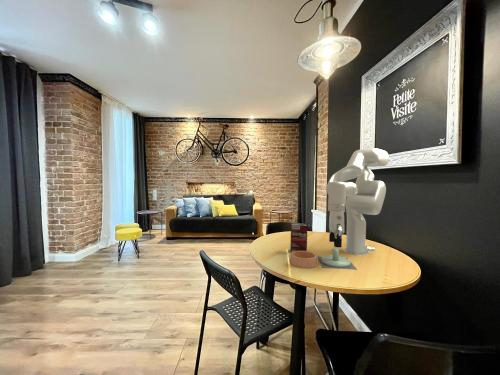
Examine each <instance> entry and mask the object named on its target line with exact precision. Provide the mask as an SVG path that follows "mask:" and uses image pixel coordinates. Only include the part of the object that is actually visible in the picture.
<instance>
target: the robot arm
mask: <svg viewBox="0 0 500 375" xmlns="http://www.w3.org/2000/svg"><path fill="white" fill-rule="evenodd" d="M389 159H390V156H389V153H388V152H387V151H386V150H383V149H380V148H364V149H362V148H361V149H356V150H355V151H354V152H353V153H352V155H351V157H350V159H349V161H348V162H347V165H346V166H345V167H343V168H341V169H340V170H337V171H336V172H335V173H333V174H332V175H331V177H330V178H329V180H328V182H327V185H326V193H327V195H328V198H327V199H328V200H327V201H328V202H327V211H328V212H329V218H328V229H329V237H328V238H329V239H328V240H329V242H330V243H333V247H334V248H343V247H342V243H343V242H342V240H343V234H344V233H345V212H346V244H345V246H346V247H345V248H343V250H342V251H343V252H344V253H346V254H349V255H353V256H368V255H369V252H375V251H376V248H375V247H371V246H367V245H366V239H367V238H366V237H367V236H366V234H367V221H366V219H365V217H364V215H369V216H370V215H372V216H376V215H379V214H380V213H381V212H382V211H381V210H382V209H383V208H382V207H383V205H384V201H385V198H386V193H387V187H386V184H385V182H384V181H383V180H375V174H374V173H373V171H372V170H371V169H370V168H371V167H372V168H373V167H375V168H376V167H378V168H379V167H386V166H387V165H388V163H389V161H390V160H389ZM369 167H370V168H369ZM353 179H356V181H355V183H354V182H353V181H350V180H353Z"/></svg>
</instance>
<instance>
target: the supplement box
mask: <svg viewBox="0 0 500 375" xmlns="http://www.w3.org/2000/svg"><path fill="white" fill-rule="evenodd" d="M289 245H290V248H289V249H290V253H291V252H293V251H308V224H307V223H290V244H289Z"/></svg>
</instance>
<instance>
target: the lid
mask: <svg viewBox="0 0 500 375" xmlns="http://www.w3.org/2000/svg"><path fill="white" fill-rule="evenodd" d="M339 251H340V249H339V248H332V254H331V255H323V256H321V257H322V258H321V262H322V263H323V264H325V265H327V266H331V267H337V268H345V267H349V266H350V262H351V260H350V259H349V258H348V257H343V256H340V252H339ZM347 258H348V259H347Z"/></svg>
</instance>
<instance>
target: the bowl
mask: <svg viewBox="0 0 500 375" xmlns="http://www.w3.org/2000/svg"><path fill="white" fill-rule="evenodd" d="M318 263H319V260H318V254H317V253H315V252H314V251H309V250H307V251H293V252H291V251H290V264H291V265H292V266H295V267H298V268H301V269H313V268H315V267H317V266H318Z"/></svg>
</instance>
